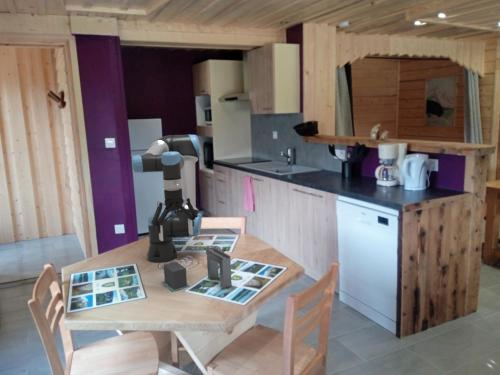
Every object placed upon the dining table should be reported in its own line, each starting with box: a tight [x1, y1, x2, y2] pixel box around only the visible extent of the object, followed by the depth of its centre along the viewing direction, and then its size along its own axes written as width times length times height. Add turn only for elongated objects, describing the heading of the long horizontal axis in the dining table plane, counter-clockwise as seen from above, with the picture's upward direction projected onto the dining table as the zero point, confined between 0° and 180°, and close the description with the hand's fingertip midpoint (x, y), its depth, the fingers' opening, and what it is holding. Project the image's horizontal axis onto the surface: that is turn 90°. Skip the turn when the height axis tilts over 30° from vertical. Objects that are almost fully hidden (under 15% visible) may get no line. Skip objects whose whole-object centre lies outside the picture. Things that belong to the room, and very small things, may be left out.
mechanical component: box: [203, 245, 227, 255], centre depth 196 cm, size 3×10×10 cm, turn 78°
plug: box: [163, 261, 188, 290], centre depth 178 cm, size 6×12×8 cm, turn 34°
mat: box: [161, 281, 191, 292], centre depth 178 cm, size 11×8×1 cm
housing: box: [205, 248, 233, 289], centre depth 178 cm, size 14×4×13 cm, turn 34°
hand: (176, 237), depth 178 cm, fingers open, 13 cm apart
